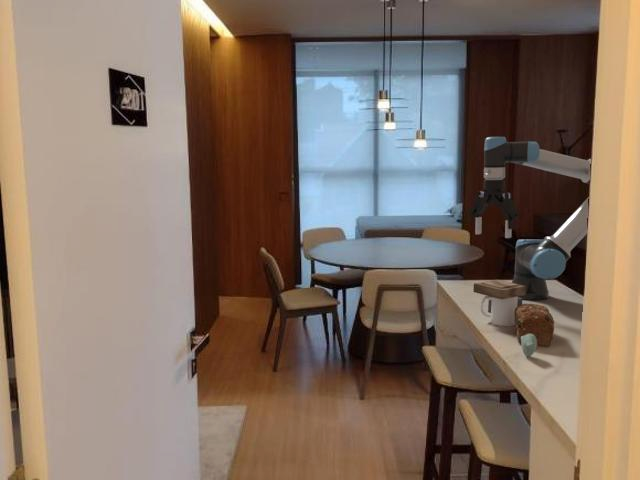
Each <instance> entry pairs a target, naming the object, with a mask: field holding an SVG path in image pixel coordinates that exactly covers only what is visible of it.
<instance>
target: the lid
mask: <svg viewBox="0 0 640 480" xmlns="http://www.w3.org/2000/svg"><path fill="white" fill-rule="evenodd" d="M472 291H473V293H476V294H480V295H482V296H483V295H484V296H490V297H494V298H498V299H506V298H512V297H517V296H523V295H526V286H524V285H519V284H515V283H512V281H505V280H502V279H493V280H487V281H480V282H476V283H473V290H472Z"/></svg>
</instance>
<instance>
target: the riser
mask: <svg viewBox="0 0 640 480" xmlns="http://www.w3.org/2000/svg"><path fill="white" fill-rule="evenodd" d="M523 300H524V299H523V298H519V297H518V301H517V307H519V306H521V305H523ZM487 306H488V310H487V313H491V306H492V300H488V305H487Z"/></svg>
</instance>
